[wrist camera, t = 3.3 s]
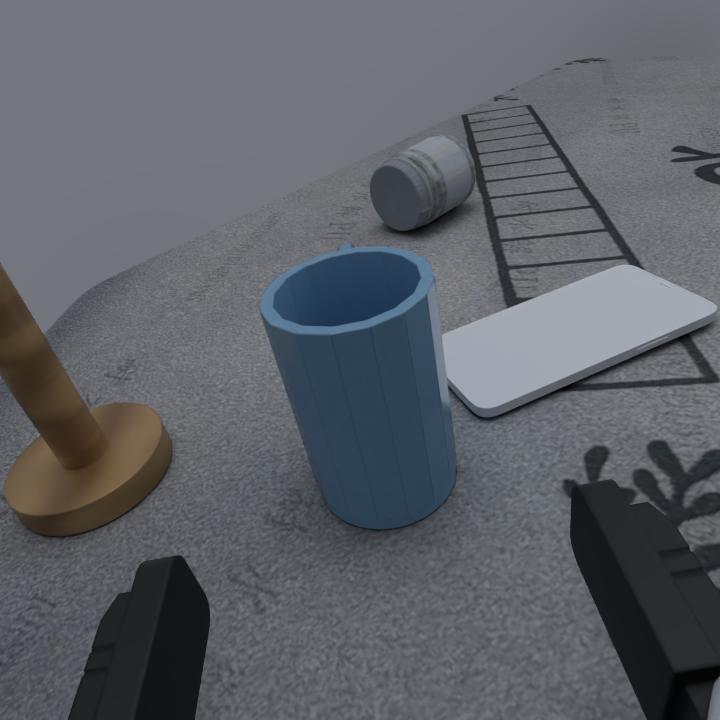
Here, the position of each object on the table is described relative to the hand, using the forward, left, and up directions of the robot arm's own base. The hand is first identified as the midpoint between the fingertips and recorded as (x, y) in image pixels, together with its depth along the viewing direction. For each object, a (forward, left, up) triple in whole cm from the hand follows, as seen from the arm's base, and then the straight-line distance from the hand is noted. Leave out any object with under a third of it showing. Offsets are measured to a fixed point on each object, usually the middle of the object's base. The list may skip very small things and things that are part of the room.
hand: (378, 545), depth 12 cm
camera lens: (+32, +22, -7) cm, 39 cm away
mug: (+10, +9, -10) cm, 17 cm away
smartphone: (+22, +4, -10) cm, 24 cm away
